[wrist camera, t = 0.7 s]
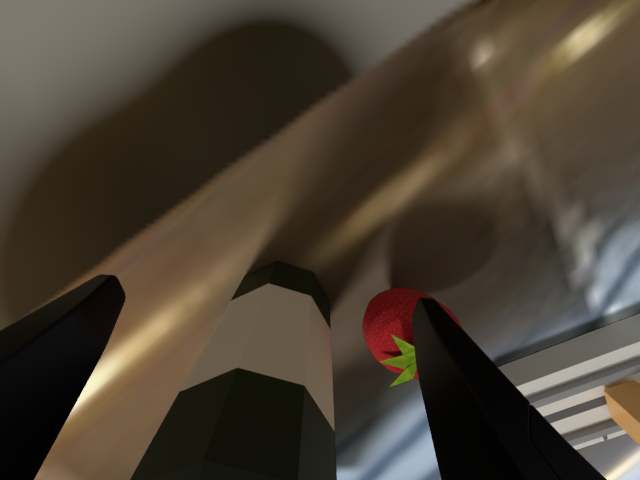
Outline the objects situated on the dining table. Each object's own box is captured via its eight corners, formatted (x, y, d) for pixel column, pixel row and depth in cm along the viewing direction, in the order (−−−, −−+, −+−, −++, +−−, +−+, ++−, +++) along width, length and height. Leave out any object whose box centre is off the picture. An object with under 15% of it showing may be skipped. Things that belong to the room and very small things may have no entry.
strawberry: (413, 338, 28) (460, 442, 18) (341, 305, 27) (352, 396, 17) (451, 287, 26) (523, 372, 17) (376, 249, 25) (408, 317, 16)
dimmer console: (506, 443, 32) (525, 473, 29) (476, 375, 29) (493, 402, 26) (712, 373, 29) (756, 399, 26) (700, 289, 26) (748, 309, 23)
